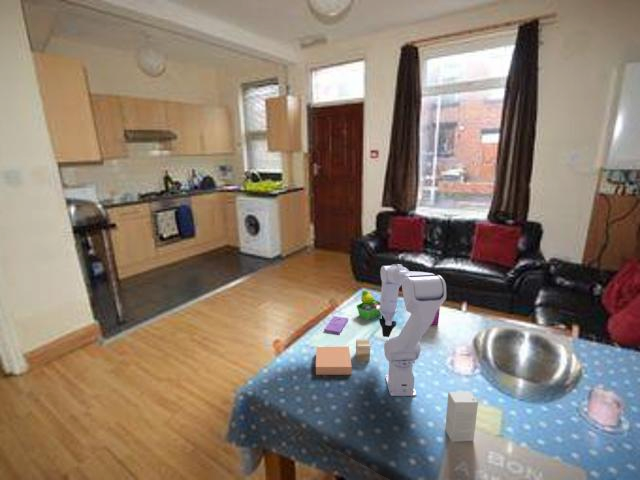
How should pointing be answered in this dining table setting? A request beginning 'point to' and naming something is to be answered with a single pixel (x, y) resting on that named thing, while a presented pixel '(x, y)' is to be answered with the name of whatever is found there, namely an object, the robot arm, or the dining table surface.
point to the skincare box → (461, 416)
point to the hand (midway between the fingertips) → (385, 329)
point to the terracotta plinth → (333, 361)
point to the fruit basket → (368, 306)
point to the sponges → (336, 324)
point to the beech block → (363, 349)
